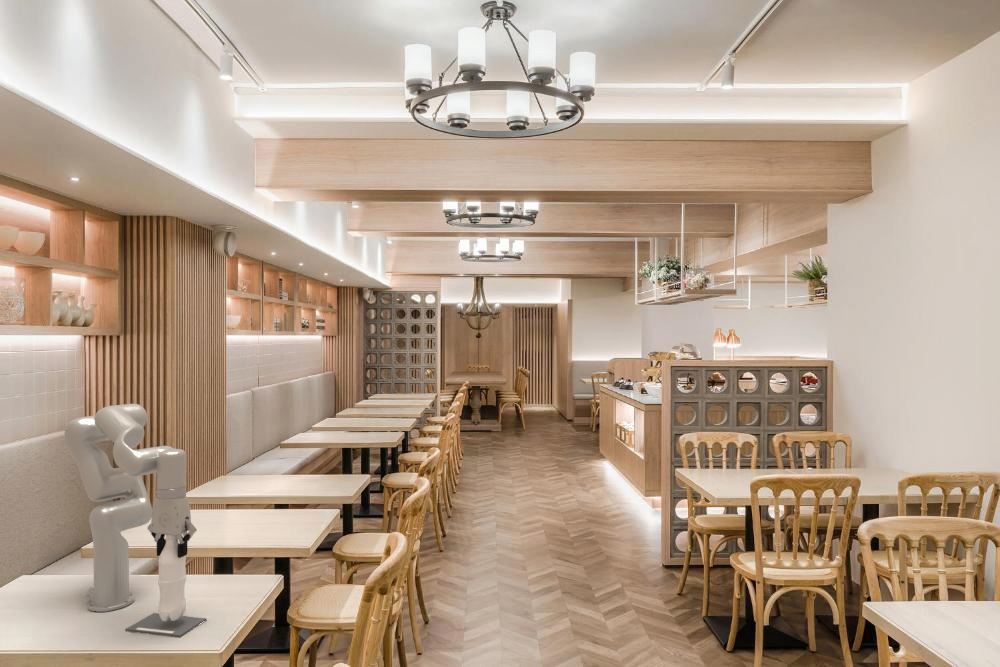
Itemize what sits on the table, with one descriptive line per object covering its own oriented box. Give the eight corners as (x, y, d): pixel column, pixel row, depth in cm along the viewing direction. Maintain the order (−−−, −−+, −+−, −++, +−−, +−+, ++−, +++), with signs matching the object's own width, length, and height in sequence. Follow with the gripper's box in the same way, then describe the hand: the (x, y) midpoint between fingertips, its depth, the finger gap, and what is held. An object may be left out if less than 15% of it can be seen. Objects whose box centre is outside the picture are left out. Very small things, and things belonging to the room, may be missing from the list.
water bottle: (174, 624, 185) (174, 535, 185) (152, 622, 186) (152, 533, 186) (191, 613, 192) (191, 527, 192) (170, 611, 193) (169, 526, 193)
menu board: (125, 631, 186) (125, 628, 186) (154, 614, 197) (154, 612, 197) (180, 637, 182) (180, 635, 182) (206, 620, 193) (206, 618, 193)
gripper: (136, 494, 187) (136, 557, 187) (188, 497, 183) (189, 562, 183) (155, 488, 195) (156, 549, 195) (206, 491, 191) (206, 553, 191)
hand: (172, 554), depth 189 cm, fingers closed on water bottle, 6 cm apart
